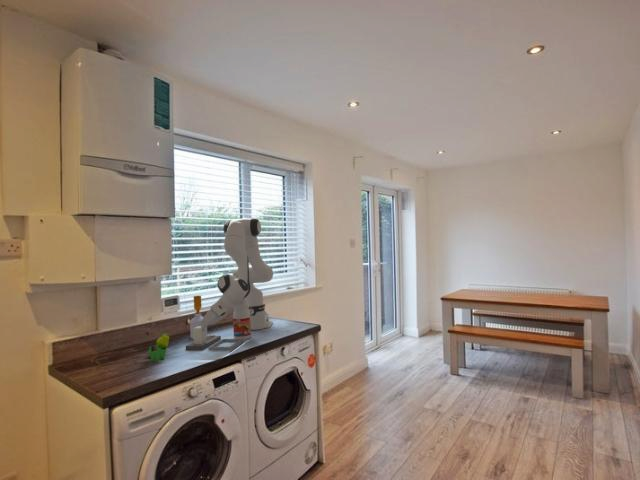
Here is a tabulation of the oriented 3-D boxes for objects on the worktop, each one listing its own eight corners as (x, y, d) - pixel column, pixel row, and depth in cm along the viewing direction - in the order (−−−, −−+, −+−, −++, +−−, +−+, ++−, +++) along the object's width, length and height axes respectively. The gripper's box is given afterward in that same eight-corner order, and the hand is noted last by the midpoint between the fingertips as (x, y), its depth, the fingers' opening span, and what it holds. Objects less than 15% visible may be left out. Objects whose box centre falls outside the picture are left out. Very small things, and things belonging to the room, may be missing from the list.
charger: (198, 345, 190) (197, 326, 191) (206, 345, 190) (205, 326, 190) (194, 347, 186) (193, 328, 186) (202, 347, 185) (201, 328, 185)
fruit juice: (254, 337, 207) (251, 287, 207) (246, 341, 198) (243, 289, 198) (239, 336, 210) (237, 287, 210) (230, 340, 201) (228, 289, 201)
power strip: (205, 341, 203) (205, 334, 203) (221, 341, 201) (220, 334, 201) (185, 352, 183) (185, 344, 183) (202, 352, 181) (202, 344, 181)
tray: (222, 343, 196) (222, 338, 196) (243, 343, 194) (243, 338, 194) (208, 352, 181) (208, 347, 181) (230, 352, 178) (230, 347, 178)
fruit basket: (150, 356, 178) (149, 333, 178) (170, 353, 181) (169, 330, 182) (148, 363, 168) (147, 338, 168) (169, 360, 171) (168, 335, 171)
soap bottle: (190, 341, 204) (188, 297, 204) (191, 337, 213) (189, 295, 213) (207, 339, 207) (205, 295, 207) (207, 335, 216) (205, 293, 216)
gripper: (228, 299, 196) (212, 317, 198) (210, 305, 176) (192, 326, 178) (237, 307, 195) (220, 326, 197) (219, 314, 175) (201, 335, 177)
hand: (207, 326), depth 187 cm, fingers open, 8 cm apart
